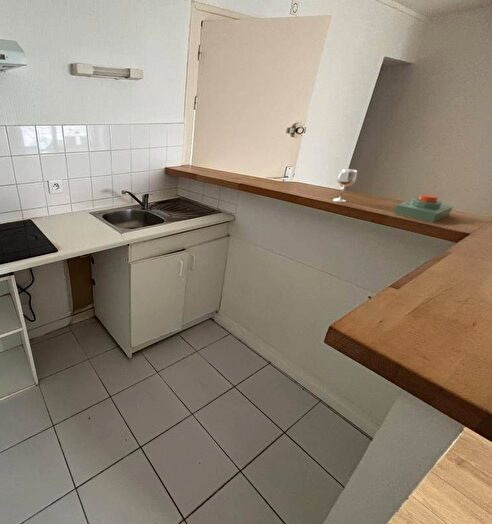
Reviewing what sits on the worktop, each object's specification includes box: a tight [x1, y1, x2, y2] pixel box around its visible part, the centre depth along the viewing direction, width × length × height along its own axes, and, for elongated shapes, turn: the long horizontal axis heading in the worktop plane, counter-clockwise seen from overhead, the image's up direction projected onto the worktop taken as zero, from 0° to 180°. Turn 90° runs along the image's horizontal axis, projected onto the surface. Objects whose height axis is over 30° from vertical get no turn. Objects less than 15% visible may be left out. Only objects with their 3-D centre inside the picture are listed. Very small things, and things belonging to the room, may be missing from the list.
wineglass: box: [333, 168, 358, 203], centre depth 112 cm, size 6×6×12 cm
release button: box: [418, 193, 439, 203], centre depth 97 cm, size 4×4×2 cm
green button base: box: [392, 197, 454, 223], centre depth 98 cm, size 14×11×5 cm
